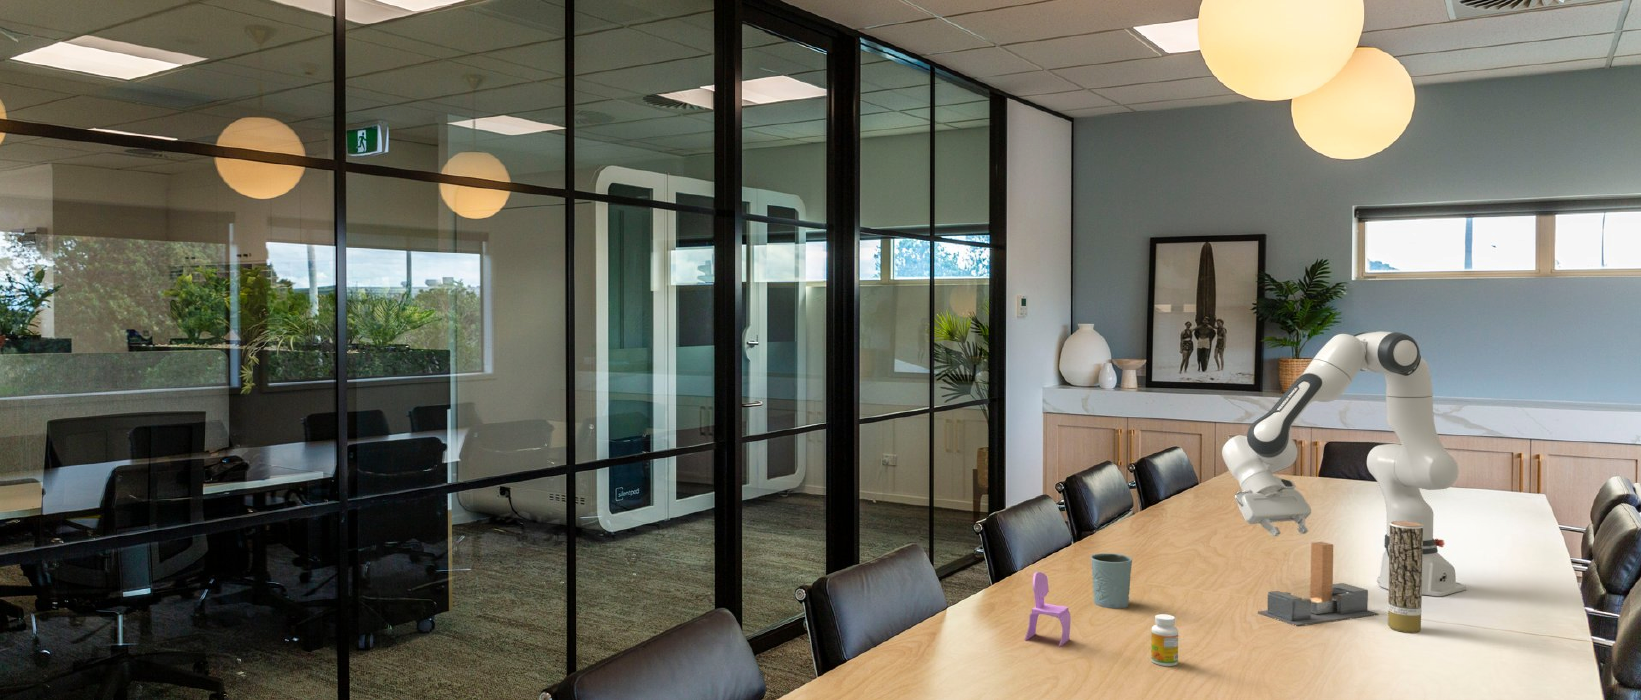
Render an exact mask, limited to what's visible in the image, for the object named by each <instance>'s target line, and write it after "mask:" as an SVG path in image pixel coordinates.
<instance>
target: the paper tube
mask: <svg viewBox="0 0 1641 700" xmlns="http://www.w3.org/2000/svg"><path fill="white" fill-rule="evenodd" d="M1422 555H1423V525H1422V524H1419V523H1414V522H1406V521H1392V522H1390V540H1389V589H1388V598H1387V599H1388V600H1387V601H1388V605H1387V611H1388V612H1387V614H1388V615H1387V625H1388V627H1389V628H1390V629H1392V630H1394V631H1397V632H1401V633H1411V634H1412V633H1418V632H1420V631H1421V629H1422V606H1423V605H1422V604H1423V603H1422V601H1423V600H1422V599H1423V598H1422V597H1423V596H1422Z"/></svg>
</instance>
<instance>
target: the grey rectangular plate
mask: <svg viewBox="0 0 1641 700" xmlns="http://www.w3.org/2000/svg"><path fill="white" fill-rule="evenodd" d="M1267 611H1268V609H1267V610H1260V611H1257V614H1259V613H1260V614H1259V615H1262V614H1263V615H1262V616H1265V617H1267V618H1272V619H1274V618H1276V619H1275V620H1277V619H1279V620H1278V621H1280V620H1281V621H1280V622H1283V621H1284V622H1283V623H1286V622H1287V623H1286V624H1289V625H1292V624H1294V625H1293V626H1295V625H1296V626H1295V627H1300V626H1299V625H1302V626H1306V625H1305V624H1309V625H1315V624H1322V623H1323V622H1324V623H1330V622H1329V621H1331V622H1336V620H1338V621H1345V620H1344V619H1346V620H1350V618H1353V619H1360V618H1367V617H1374V615H1375V616H1379V613H1378V612H1376V611H1372V610H1368V611H1367V612H1359V613H1352V614H1345V615H1340V614H1337V612H1329V613H1321V614H1315V613H1311V619H1307V620H1300V621H1292V622H1291V621H1288V620H1285V619H1282V618H1279V617H1276V616H1273V615H1270V614H1267ZM1342 619H1343V620H1342ZM1324 623H1323V624H1324Z"/></svg>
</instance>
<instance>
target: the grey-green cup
mask: <svg viewBox="0 0 1641 700" xmlns="http://www.w3.org/2000/svg"><path fill="white" fill-rule="evenodd" d="M1090 563H1091V573H1092V574H1091V575H1092V579H1091V580H1092V584H1093V585H1092V588H1093V589H1092V591H1093V602H1094V605H1095V606H1099V607H1101V608H1105V609H1106V608H1107V609H1124V608H1127V607H1128V606H1129V603H1130V602H1129V601H1130V590H1131V588H1130V587H1131V574H1132V573H1131V572H1132V566H1133V565H1132V564H1133V558H1132V557H1130V556H1128V555H1126V554H1119V553H1113V552H1112V553H1110V552H1109V553H1108V552H1105V553H1094V554H1093V555H1091V556H1090Z"/></svg>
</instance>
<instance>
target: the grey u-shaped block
mask: <svg viewBox="0 0 1641 700" xmlns="http://www.w3.org/2000/svg"><path fill="white" fill-rule="evenodd" d="M1335 595H1337V614H1340V615H1345V614H1352V613H1359V612H1367V611H1368V609H1369V608H1368V607H1369V606H1368V604H1369V589H1367V588H1362V587H1359V586H1355V585H1352V584H1347V583H1344V582H1340V583H1333V593H1332V596H1335Z"/></svg>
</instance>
